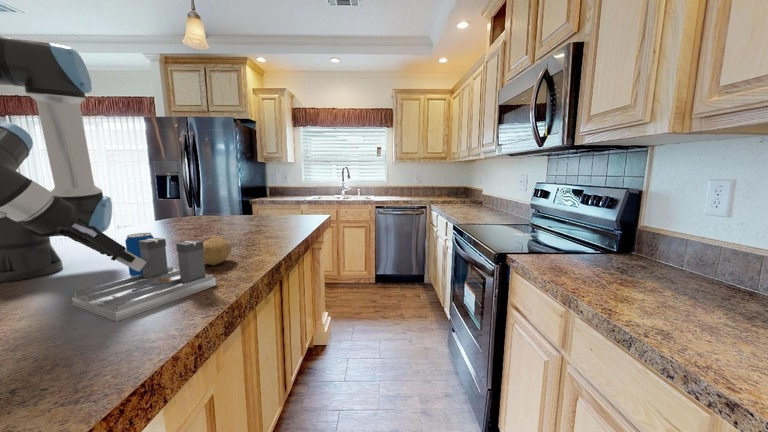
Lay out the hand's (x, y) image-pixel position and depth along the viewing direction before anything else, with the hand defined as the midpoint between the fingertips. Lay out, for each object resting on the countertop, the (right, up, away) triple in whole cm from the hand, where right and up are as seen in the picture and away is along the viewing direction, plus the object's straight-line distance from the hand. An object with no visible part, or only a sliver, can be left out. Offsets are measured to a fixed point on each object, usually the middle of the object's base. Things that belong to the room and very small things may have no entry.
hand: (141, 266), depth 78 cm
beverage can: (-8, -5, +12) cm, 15 cm away
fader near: (+1, -3, +4) cm, 5 cm away
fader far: (+13, -4, +1) cm, 13 cm away
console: (+5, -6, -3) cm, 8 cm away
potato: (+6, -3, +22) cm, 23 cm away
